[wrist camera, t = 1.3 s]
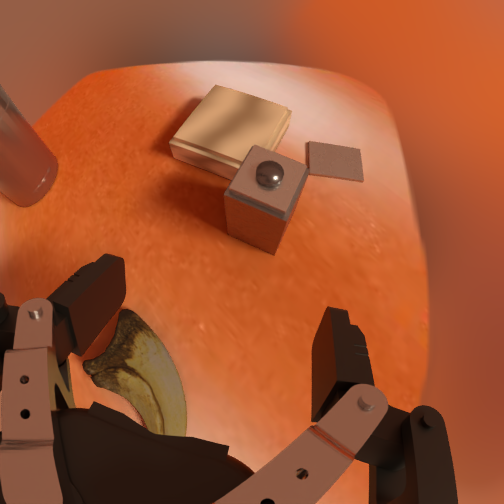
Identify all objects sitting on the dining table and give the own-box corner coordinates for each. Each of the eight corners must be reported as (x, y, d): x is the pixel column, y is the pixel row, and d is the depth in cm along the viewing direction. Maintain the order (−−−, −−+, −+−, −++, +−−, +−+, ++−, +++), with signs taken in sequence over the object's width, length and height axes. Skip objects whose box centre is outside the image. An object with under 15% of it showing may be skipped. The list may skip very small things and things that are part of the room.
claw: (86, 319, 29) (72, 317, 26) (170, 308, 30) (163, 304, 27) (123, 480, 24) (113, 491, 21) (208, 478, 25) (205, 491, 22)
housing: (227, 234, 33) (222, 185, 23) (249, 194, 34) (252, 135, 24) (274, 255, 32) (289, 214, 22) (293, 213, 34) (313, 160, 24)
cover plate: (308, 177, 36) (309, 173, 35) (307, 145, 37) (309, 141, 36) (361, 184, 36) (363, 180, 35) (357, 153, 37) (359, 149, 36)
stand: (173, 158, 35) (167, 138, 32) (215, 101, 39) (214, 81, 35) (254, 189, 34) (255, 171, 31) (288, 126, 38) (292, 106, 34)
